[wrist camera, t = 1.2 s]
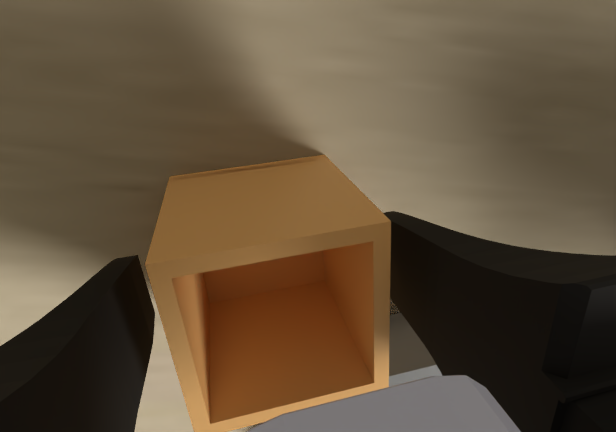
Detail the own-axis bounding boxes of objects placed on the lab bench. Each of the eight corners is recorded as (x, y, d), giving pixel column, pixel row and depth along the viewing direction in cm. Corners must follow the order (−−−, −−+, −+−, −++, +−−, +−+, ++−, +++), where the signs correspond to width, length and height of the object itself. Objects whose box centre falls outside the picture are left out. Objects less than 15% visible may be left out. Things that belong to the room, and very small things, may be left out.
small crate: (323, 153, 13) (391, 221, 8) (331, 278, 15) (388, 390, 10) (169, 175, 12) (145, 264, 8) (200, 304, 15) (196, 439, 10)
